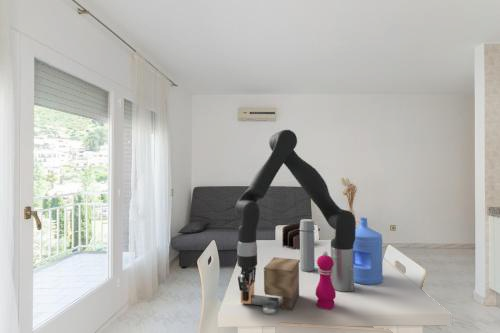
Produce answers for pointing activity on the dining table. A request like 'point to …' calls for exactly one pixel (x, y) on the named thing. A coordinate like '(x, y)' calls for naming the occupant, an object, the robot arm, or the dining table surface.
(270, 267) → the brown wooden block
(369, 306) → the dining table surface
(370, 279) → the water jug
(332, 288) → the pepper mill
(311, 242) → the water bottle
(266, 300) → the tan grey l-shaped piece
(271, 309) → the token
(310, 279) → the dining table surface
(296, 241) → the letter holder
